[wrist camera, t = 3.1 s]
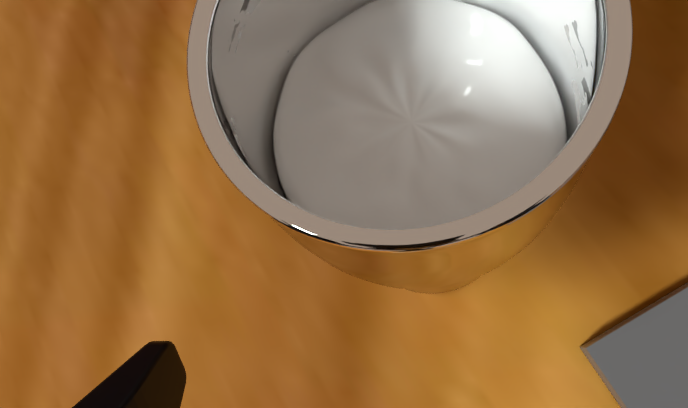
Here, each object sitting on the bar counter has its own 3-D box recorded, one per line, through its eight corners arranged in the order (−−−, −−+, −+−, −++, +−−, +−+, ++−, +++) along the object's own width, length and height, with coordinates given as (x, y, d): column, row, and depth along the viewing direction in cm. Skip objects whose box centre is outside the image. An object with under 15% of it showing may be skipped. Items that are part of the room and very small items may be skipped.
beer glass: (478, 109, 23) (524, -243, 9) (549, 268, 21) (754, 152, 7) (322, 171, 24) (127, -62, 9) (378, 330, 22) (244, 341, 8)
